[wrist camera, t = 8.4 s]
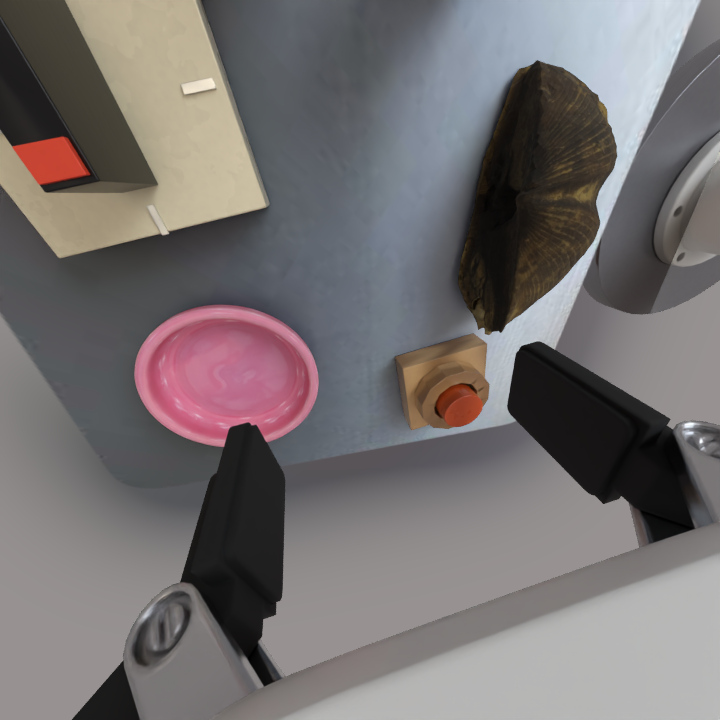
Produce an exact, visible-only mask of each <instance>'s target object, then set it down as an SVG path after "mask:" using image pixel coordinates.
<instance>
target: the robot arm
mask: <svg viewBox="0 0 720 720" xmlns="http://www.w3.org/2000/svg"><path fill="white" fill-rule="evenodd" d="M654 248H655V252H656V254H657V256H658V258H659V259H660V260H661V261H662V262H664V263H666V264H669V265H674V266H680V267H687V266H693V265H697V264H700V263H702V262H704V261H707V260H709V259H711V258H713V257H715V256H716V255H720V132H719V133H717V134H716V135H715V136H714V137H713V138H712V139H710V140H709V141H708V142H707V143H706V144H705V145H704V146H703V147H702V148H701V149H700V150H699V151H698V152H697V154H696V155H695V156H694V157H693V158H692V159H691V160H690V162H689V163H688V164H687V166H686V167H685V168H684V169H683V171H682V172H681V173H680V175H679V176H678V178H677V180H676V181H675V183H674V184H673V186H672V187H671V189H670V191H669V193H668V195H667V197H666V199H665V200H664V202H663V205H662V207H661V210H660V212H659V215H658V218H657V222H656V226H655V230H654ZM507 407H508V411H509V413H510V414H511V415H512V416H513V417H514V418H515V420H516V421H517V422H518V423H519V424H520V425H522V427H524V429H525V430H526V431H527V432H528V433H529V434H530V435H531V436H532V437H533V438H534V439H535V440H536V441H537V442H538V443H539V444H540V445H541V446H542V447H543V448H544V449H545V450H546V451H547V452H548V453H549V454H550V455H551V456H552V457H553V458H554V459H555V460H556V461H557V462H558V463H559V464H560V465H561V466H562V467H563V468H564V469H565V470H566V471H567V472H568V473H569V474H570V475H571V476H572V477H573V478H574V479H575V480H576V481H577V482H578V484H579V485H580V486H581V487H582V488H583V489H584V490H586V491H587V492H588V493H589V494H591V495H595V496H596V497H597V498H598V499H599V500H600V501H601V502H602V503H603V504H605V503H608V502H611V501H613V500H617V499H619V498H620V497H621V496H622V497H624V499H626V500H627V501H628V502H629V505H630V510H631V514H632V518H633V522H634V526H635V531H636V535H637V539H638V543H639V548H638V549H635V550H632V551H629V552H626V553H623V554H620V555H618V556H615V557H612V558H609V559H606V560H604V561H601V562H598V563H595V564H593V565H589V566H587V567H583V568H581V569H578V570H575V571H572V572H569V573H567V574H564V575H561V576H558V577H555V578H553V579H550V580H547V581H544V582H541V583H538V584H536V585H533V586H530V587H527V588H524V589H522V590H519V591H516V592H514V593H511V594H508V595H505V596H502V597H499V598H496V599H494V600H491V601H488V602H486V603H483V604H480V605H477V606H474V607H471V608H469V609H466V610H463V611H460V612H457V613H455V614H452V615H449V616H446V617H443V618H441V619H438V620H435V621H433V622H430V623H427V624H424V625H422V626H419V627H416V628H413V629H410V630H408V631H405V632H402V633H400V634H397V635H394V636H391V637H388V638H386V639H383V640H380V641H377V642H375V643H372V644H369V645H366V646H364V647H361V648H358V649H356V650H353V651H351V652H348V653H345V654H343V655H340V656H337V657H335V658H333V659H330V660H327V661H324V662H322V663H320V664H317V665H315V666H312V667H309V668H306V669H304V670H301V671H299V672H296V673H293V674H291V675H289V676H287V677H286V676H285V675H284V673H283V672H282V670H281V669H280V667H279V666H278V665H277V663H276V662H275V660H274V659H273V657H272V656H271V654H270V653H269V651H268V650H267V648H266V647H265V645H264V644H263V643H262V641H261V640H260V638H261V637H262V629H263V619H265V618H268V617H271V616H274V615H276V602H278V601H280V600H281V598H282V589H283V550H284V511H285V477H284V473H283V471H282V469H281V468H280V466H279V464H278V462H277V460H276V459H275V457H274V455H273V453H272V451H271V450H270V448H269V446H268V444H267V442H266V441H265V439H264V437H263V435H262V433H261V432H260V430H259V428H258V426H257V425H251V424H250V423H249V422H247V423H243V424H239V425H236V426H232V427H230V428H229V430H228V434H227V438H226V441H225V445H224V449H223V452H222V456H221V460H220V463H219V467H218V471H217V474H214V475H213V476H212V477H211V479H210V482H209V484H208V488H207V491H206V495H205V498H204V502H203V505H202V509H201V513H200V516H199V519H198V522H197V526H196V530H195V533H194V536H193V540H192V543H191V547H190V550H189V554H188V557H187V561H186V564H185V567H184V571H183V574H182V578H181V581H180V583H177V584H173V585H171V586H169V587H168V588H166V589H164V590H162V591H161V592H160V593H159V594H158V595H156V596H155V597H154V598H153V599H152V600H151V601H150V602H149V603H148V604H147V606H146V607H145V608H144V609H143V610H142V611H141V613H140V615H139V616H138V618H137V619H136V621H135V623H134V624H133V626H132V628H131V630H130V633H129V635H128V638H127V640H126V644H125V649H124V653H123V659H124V660H123V662H122V663H121V664H120V665H119V666H118V667H117V668H116V670H115V671H114V672H113V673H112V674H111V675H110V676H109V678H108V679H107V680H106V681H105V682H104V683H103V684H102V686H101V687H100V688H99V689H98V690H97V691H96V693H95V694H94V695H93V696H92V697H91V698H90V699H89V701H88V702H87V703H86V704H85V705H84V706H83V708H82V709H81V710H80V711H79V712H78V713H77V714H76V715H75V717H74V718H73V719H72V720H720V425H716V424H712V423H708V422H702V421H684V422H681V423H679V424H677V425H676V426H675V428H674V429H671V428H669V427H668V426H667V424H668V422H669V421H670V419H669V418H668V417H666V416H665V415H663V414H661V413H660V412H658V411H656V410H654V409H653V408H651V407H649V406H648V405H646V404H644V403H643V402H641V401H639V400H638V399H636V398H634V397H633V396H631V395H629V394H628V393H626V392H624V391H623V390H621V389H619V388H618V387H616V386H614V385H612V384H611V383H609V382H608V381H606V380H604V379H603V378H601V377H599V376H598V375H596V374H594V373H593V372H591V371H589V370H588V369H586V368H584V367H583V366H581V365H579V364H578V363H576V362H574V361H572V360H571V359H569V358H568V357H566V356H564V355H562V354H561V353H559V352H558V351H556V350H554V349H552V348H551V347H549V346H547V345H546V344H544V343H542V342H534V343H530V344H527V345H523V346H521V347H520V349H519V351H518V352H517V353H516V357H515V363H514V369H513V375H512V381H511V387H510V393H509V399H508V405H507Z"/></svg>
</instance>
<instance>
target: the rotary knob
mask: <svg viewBox="0 0 720 720" xmlns="http://www.w3.org/2000/svg"><path fill="white" fill-rule="evenodd" d="M0 130H1V132H2V133H3V135H4V136H5V137H6V139H7V140H8V142H9V143H10V144H11V146H12V148H13V149H14V151H15V152H16V153H17V155H18V156H19V158H20V159H21V160H22V162H23V163H24V165H25V166H26V167H27V169H28V170H29V172H30V173H31V174H32V176H33V177H34V179H35V180H36V181H37V183H38V184H39V185H40V186H41V188H42V189H43V191H44V192H46V193H125V192H129V191H134V190H138V189H143V188H148V187H152V186H157V185H158V183H157V181H156V179H155V177H154V175H153V173H152V171H151V169H150V167H149V165H148V163H147V161H146V159H145V157H144V155H143V153H142V151H141V149H140V147H139V145H138V143H137V141H136V139H135V137H134V135H133V133H132V131H131V129H130V127H129V126H128V124H127V122H126V120H125V118H124V116H123V114H122V112H121V110H120V108H119V106H118V104H117V102H116V100H115V98H114V96H113V94H112V92H111V90H110V88H109V86H108V84H107V82H106V80H105V78H104V76H103V74H102V72H101V70H100V68H99V66H98V64H97V63H96V61H95V59H94V57H93V55H92V53H91V51H90V49H89V47H88V45H87V43H86V41H85V39H84V37H83V35H82V33H81V31H80V29H79V27H78V25H77V23H76V21H75V19H74V17H73V15H72V13H71V11H70V9H69V7H68V5H67V3H66V2H65V0H0Z"/></svg>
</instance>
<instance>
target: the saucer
mask: <svg viewBox="0 0 720 720" xmlns="http://www.w3.org/2000/svg"><path fill="white" fill-rule="evenodd" d="M135 383H136V387H137V390H138V393H139V395H140V398H141V400H142V401H143V403H144V405H145V406H146V408H147V409H148V411H149V412H150V413H151V414H152V415H153V416H154V417H155V418H156V419H157V420H158V421H159V422H160V423H161V424H163V425H164V426H165V427H167V428H168V429H170V430H171V431H173V432H175V433H176V434H178V435H180V436H182V437H185V438H187V439H190V440H193V441H196V442H199V443H202V444H207V445H212V446H219V447H224V445H225V441H226V438H227V434H228V430H229V428H230V427H232V426H236V425H239V424H243V423H247V422H249V423H250V424H251V425H257V426H258V428H259V430H260V432H261V433H262V435H263V437H264V439H265V441H266V442H270V441H272V440H275V439H277V438H279V437H281V436H283V435H285V434H287V433H288V432H290V431H291V430H293V429H294V428H295V427H297V426H298V425H299V424H300V423H301V422H302V421H303V420H304V419H305V418H306V417H307V415H308V414H309V412H310V411H311V409H312V407H313V405H314V403H315V400H316V397H317V393H318V385H319V379H318V371H317V367H316V363H315V360H314V358H313V355H312V353H311V351H310V349H309V348H308V346H307V345H306V343H305V342H304V341H303V340H302V338H301V337H300V336H299V335H298V334H297V333H296V332H295V331H294V330H292V329H291V328H290V327H289V326H287V325H286V324H284V323H283V322H281V321H280V320H278V319H276V318H274V317H272V316H270V315H268V314H265V313H263V312H260V311H257V310H255V309H251V308H247V307H242V306H234V305H207V306H201V307H196V308H193V309H189V310H186V311H183V312H181V313H178V314H176V315H174V316H173V317H171V318H169V319H168V320H166V321H165V322H163V323H162V324H161V325H160V326H158V327H157V328H156V329H155V330H154V331H153V332H152V333H151V334H150V335H149V336H148V337H147V339H146V340H145V342H144V343H143V344H142V346H141V348H140V350H139V352H138V355H137V359H136V362H135Z"/></svg>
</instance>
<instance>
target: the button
mask: <svg viewBox="0 0 720 720" xmlns="http://www.w3.org/2000/svg"><path fill="white" fill-rule="evenodd" d="M482 407H483V403H482V400H481V399H480V398H479V396H478V395H477V394H476V393H475V392H474V391H473V390H472V389H471V388H470V387H469V386H468V385H465V384H456V385H453V386H450V387H449V388H447V389H446V390H445V391H444V392H442V393H441V394H440V395H439V397H438V399H437V401H436V408H437V410H438V412H439V413H440V415H441V416H442V418H443V419H444V421H445V422H446V423H447V424H448V425H450V426H452V427H460V426H464V425H467V424H469V423H470V422H472V421H473V420H475V419H476V418H477V417H478V415H479V414H480V412H481V410H482Z"/></svg>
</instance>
